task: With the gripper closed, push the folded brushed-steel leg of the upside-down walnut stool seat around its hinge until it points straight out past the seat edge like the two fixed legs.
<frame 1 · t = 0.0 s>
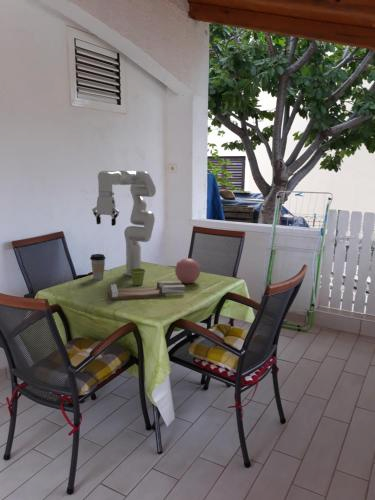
hand: (106, 224, 229), 37 cm above the table, tool pointing down, fingers open, 9 cm apart
coffee cup: (98, 278, 254), on the table
plant pot: (137, 284, 246), on the table
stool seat: (136, 294, 227), on the table
folding leg: (114, 290, 222), point 4 cm above the table, hinge at 0.0°
balloon: (185, 282, 253), on the table
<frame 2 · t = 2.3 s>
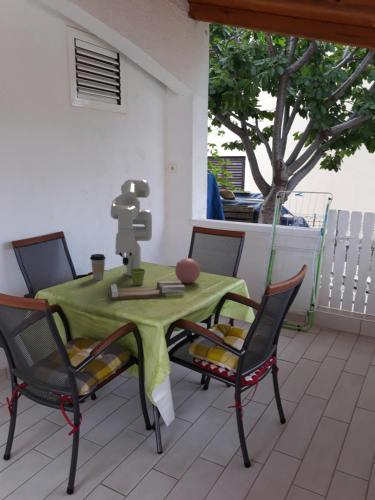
hand: (125, 264, 216), 19 cm above the table, tool pointing down, fingers closed
nothing on the table moved.
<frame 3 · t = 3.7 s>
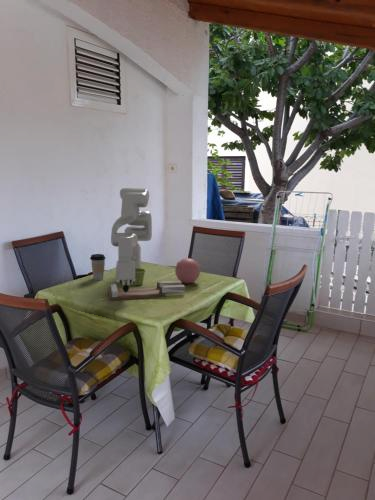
hand: (125, 291, 219), 4 cm above the table, tool pointing down, fingers closed
nothing on the table moved.
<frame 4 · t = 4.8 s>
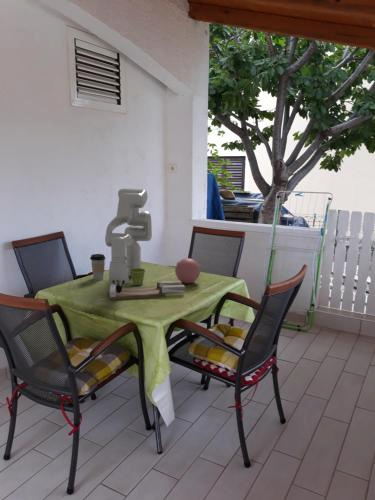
hand: (118, 292, 218), 4 cm above the table, tool pointing down, fingers closed
folding leg: (113, 290, 222), point 4 cm above the table, hinge at -5.5°, touching gripper
everything else where it was.
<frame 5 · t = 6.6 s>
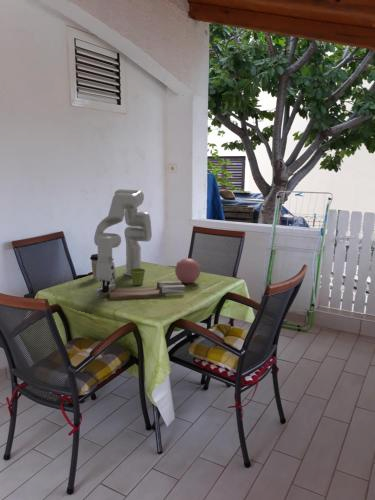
hand: (105, 292, 218), 4 cm above the table, tool pointing down, fingers closed
folding leg: (106, 289, 222), point 4 cm above the table, hinge at -45.5°, touching gripper
everything else where it was.
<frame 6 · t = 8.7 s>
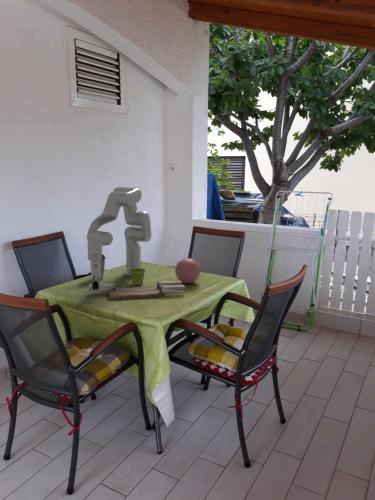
hand: (95, 289, 222), 4 cm above the table, tool pointing down, fingers closed
folding leg: (102, 287, 226), point 4 cm above the table, hinge at -90.6°, touching gripper
everything else where it was.
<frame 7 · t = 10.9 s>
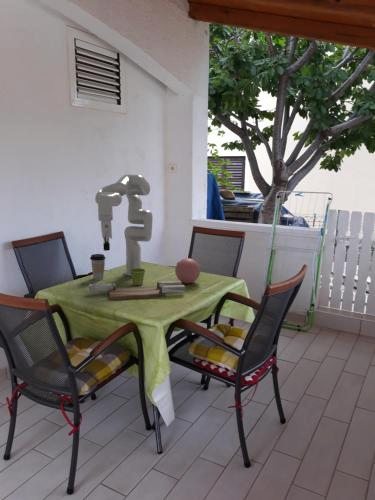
hand: (106, 250, 223), 25 cm above the table, tool pointing down, fingers closed
folding leg: (102, 287, 226), point 4 cm above the table, hinge at -90.6°
everything else where it was.
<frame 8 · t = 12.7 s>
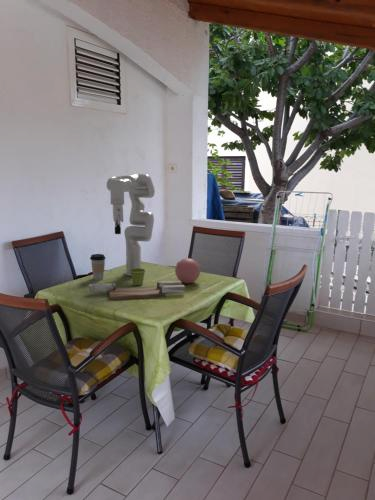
hand: (117, 233, 231), 32 cm above the table, tool pointing down, fingers closed
nothing on the table moved.
at the end: folding leg at -91° (first picture: +0°) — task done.
